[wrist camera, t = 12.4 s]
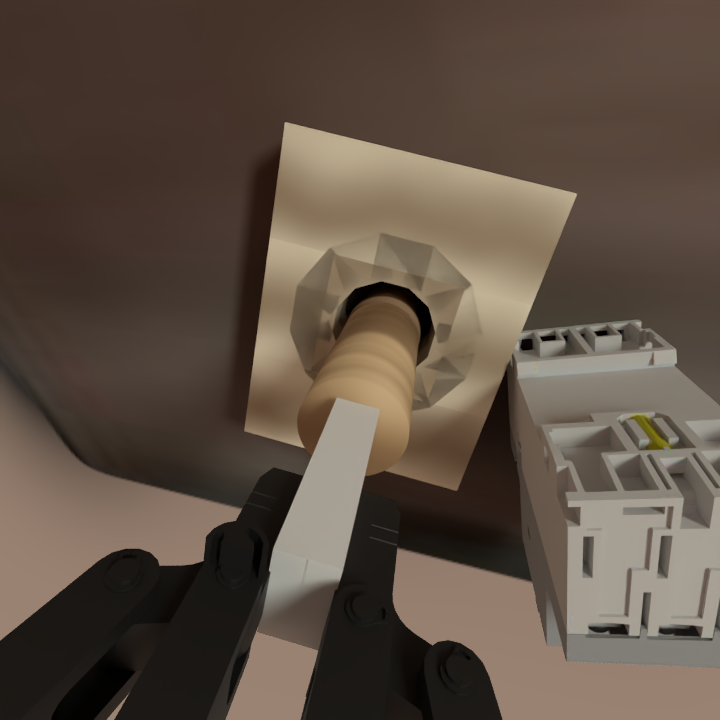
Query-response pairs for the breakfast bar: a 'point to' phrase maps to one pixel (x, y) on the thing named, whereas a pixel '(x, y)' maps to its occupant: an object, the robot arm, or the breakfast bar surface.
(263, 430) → the board
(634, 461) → the circuit breaker
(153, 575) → the robot arm
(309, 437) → the peg
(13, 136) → the breakfast bar surface
